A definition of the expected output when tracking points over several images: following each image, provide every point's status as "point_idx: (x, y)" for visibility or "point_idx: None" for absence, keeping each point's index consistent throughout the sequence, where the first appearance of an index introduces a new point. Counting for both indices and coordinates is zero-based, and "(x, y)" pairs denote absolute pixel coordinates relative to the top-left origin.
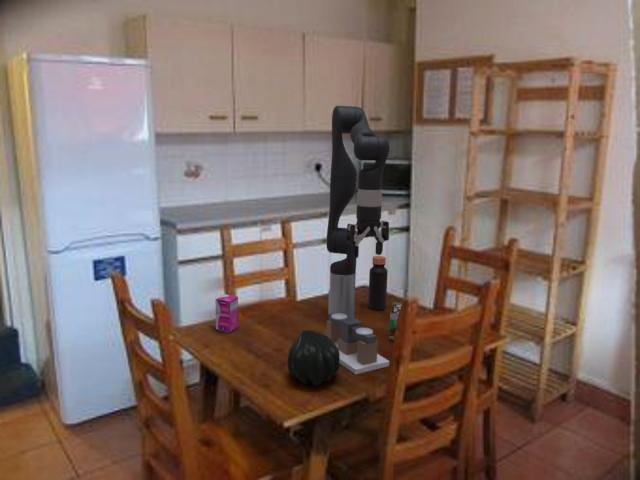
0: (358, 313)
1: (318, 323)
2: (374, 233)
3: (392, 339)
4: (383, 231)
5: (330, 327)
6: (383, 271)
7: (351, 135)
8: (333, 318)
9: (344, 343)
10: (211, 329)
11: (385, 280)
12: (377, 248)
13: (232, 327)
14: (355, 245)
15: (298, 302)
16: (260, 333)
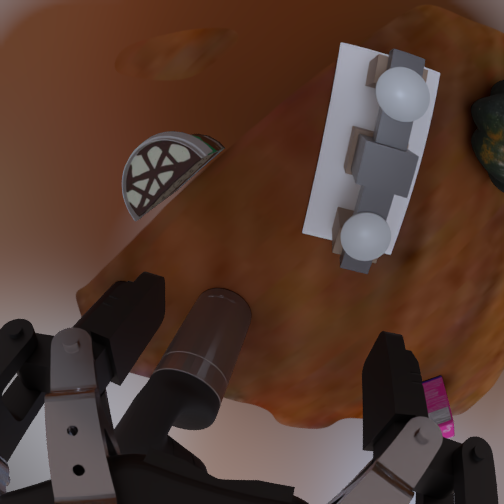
0: (177, 302)
1: (288, 321)
2: (127, 480)
3: (218, 142)
4: (4, 417)
5: None
6: None
7: None
8: (390, 237)
9: None
10: None
11: (84, 319)
12: (141, 330)
13: (436, 383)
14: (435, 424)
15: (243, 398)
16: (413, 350)
